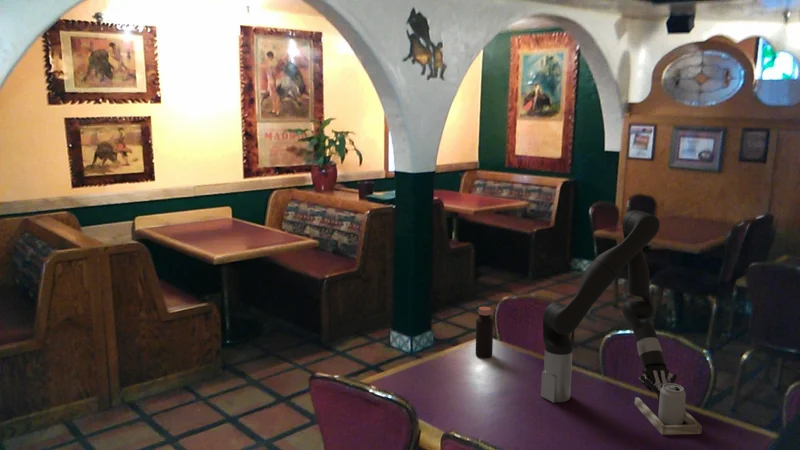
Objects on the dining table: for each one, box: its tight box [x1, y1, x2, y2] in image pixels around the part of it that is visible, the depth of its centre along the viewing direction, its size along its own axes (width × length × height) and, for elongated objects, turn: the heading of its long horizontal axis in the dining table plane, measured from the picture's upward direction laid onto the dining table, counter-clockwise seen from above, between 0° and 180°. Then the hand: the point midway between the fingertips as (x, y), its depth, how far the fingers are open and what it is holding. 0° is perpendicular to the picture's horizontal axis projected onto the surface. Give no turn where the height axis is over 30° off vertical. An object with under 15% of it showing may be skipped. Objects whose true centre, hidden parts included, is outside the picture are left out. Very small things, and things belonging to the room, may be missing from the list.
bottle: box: [475, 306, 494, 359], centre depth 255 cm, size 7×7×20 cm
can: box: [657, 382, 687, 425], centre depth 202 cm, size 8×8×12 cm
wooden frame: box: [634, 397, 703, 436], centre depth 205 cm, size 20×12×2 cm, turn 3°
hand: (665, 403), depth 207 cm, fingers closed
